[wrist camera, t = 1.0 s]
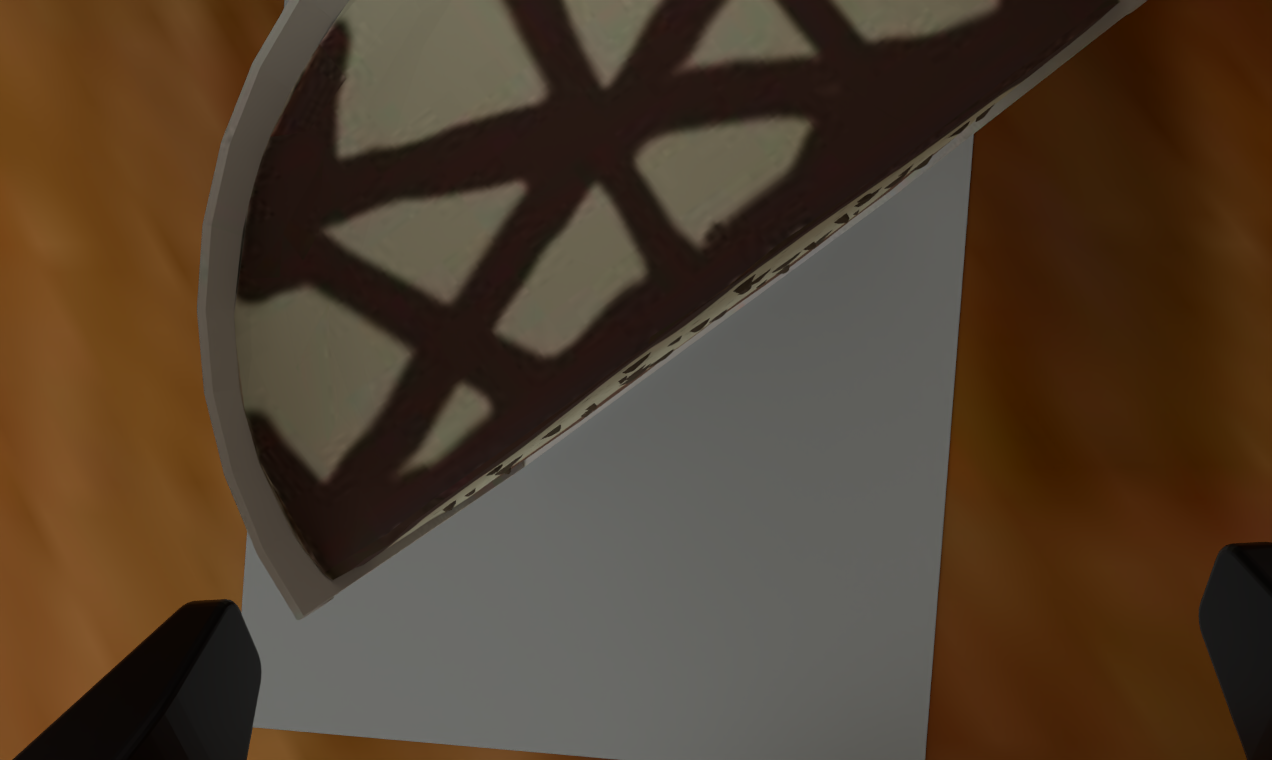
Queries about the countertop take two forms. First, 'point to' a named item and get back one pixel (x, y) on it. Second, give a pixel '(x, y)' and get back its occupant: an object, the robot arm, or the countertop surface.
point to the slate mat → (686, 543)
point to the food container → (539, 223)
